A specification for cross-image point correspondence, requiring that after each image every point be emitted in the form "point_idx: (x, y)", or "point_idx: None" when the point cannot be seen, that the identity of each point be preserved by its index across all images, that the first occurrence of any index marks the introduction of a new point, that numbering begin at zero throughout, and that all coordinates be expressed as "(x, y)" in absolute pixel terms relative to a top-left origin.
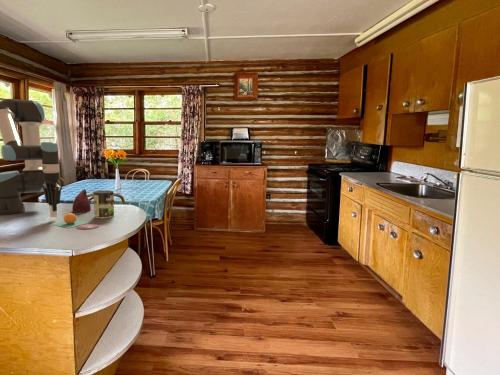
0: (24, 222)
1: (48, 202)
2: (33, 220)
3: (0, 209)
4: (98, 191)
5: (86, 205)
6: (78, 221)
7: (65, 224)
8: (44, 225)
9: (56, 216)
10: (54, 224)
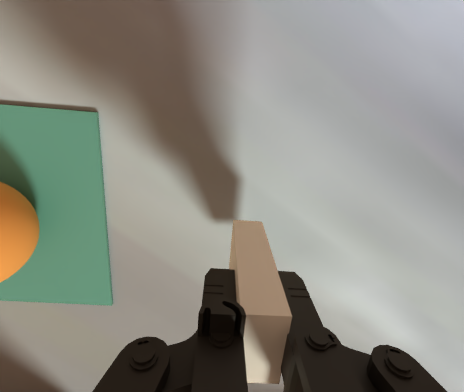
0: (436, 62)
1: (345, 364)
2: (416, 158)
3: None
4: None
5: None
6: (30, 284)
7: (4, 169)
8: (149, 64)
9: (230, 262)
10: (85, 123)
